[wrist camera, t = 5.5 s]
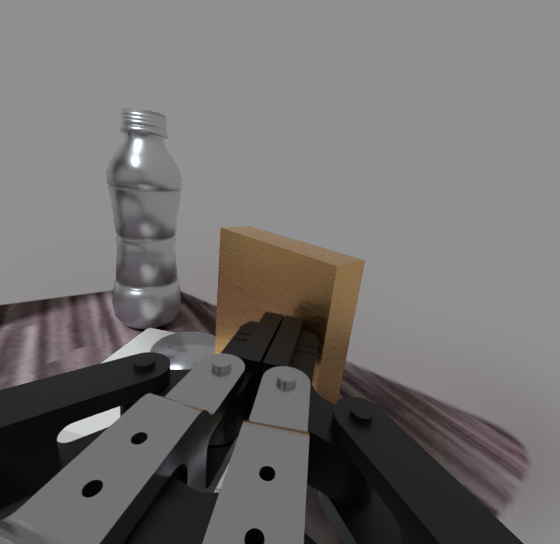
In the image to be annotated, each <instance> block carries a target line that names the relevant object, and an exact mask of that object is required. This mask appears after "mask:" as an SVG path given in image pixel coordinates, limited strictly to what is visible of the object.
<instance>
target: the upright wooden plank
mask: <svg viewBox="0 0 560 544" xmlns="http://www.w3.org/2000/svg"><path fill="white" fill-rule="evenodd" d="M364 263H365V260H362V259H358V258H355V257H352V256H348V255H344V254H341V253H338V252H335V251H331V250H328V249H324V248H321V247H318V246H314V245H311V244H307V243H304V242H301V241H297V240H293V239H290V238H287V237H284V236H280V235H277V234H273V233H270V232H266V231H263V230H260V229H256V228H253V227H226V228H221V234H220V256H219V274H218V295H217V315H216V336H214V335H211V334H208V333H203V332H195V331H189V332H179V333H175V334H171V335H168V336H166V337H163V338H161V339H160V340H158V341H157V342H156V343H155V344H154V345H153V346H152V348H151V350H150V352H155V353H160V354H163V355H165V356H167V357H168V358H169V360H170V369H193V368H194V367H195V366H196V365H197V364H198V363H199V362H200V361H201V360H202V359H203V358H205V357H207V356H209V355H213V354H220V353H221V352H222V351H223V349H224V348H225V347H226V345H227V344H228V343H229V341H230V340H231V339H232V338H233V336H234V335H235V333H237V331H238V330H239V328H240V327H241V326H242V325H244V324H246V323H248V322H250V321H254V322H259V321H260V320H261V318H262V317H263V315H264V313H265V312H271V313H277V314H282V315H284V317H285V315H288V316H294V317H299V318H304V323H303V331H307V332H313V333H315V334H316V336H317V338H318V339H319V344H318V350H317V357H316V363H315V370H314V376H313V382H312V385H313V388H314V389H315V391H316V392H317V393H318V394H319V395H320V396H321V397H323V398H324V399H326V400H328V401H330V402H332V403H334V404H336V402H337V401H338V397H339V392H340V387H341V382H342V377H343V371H344V366H345V361H346V356H347V350H348V346H349V340H350V335H351V330H352V325H353V320H354V315H355V309H356V304H357V299H358V293H359V289H360V284H361V279H362V273H363V268H364Z"/></svg>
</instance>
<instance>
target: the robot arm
mask: <svg viewBox="0 0 560 544" xmlns="http://www.w3.org/2000/svg"><path fill="white" fill-rule="evenodd" d="M303 323H304V318H299V317H294V316H288V315H285V317H284V315H282V314H277V313H271V312H265V313H264V315H263V317H262V318H261V320H260V321H259V322H254V321H250V322H248V323H246V324H244V325H242V326H241V327H240V328H239V330H238V331H237V333H235V335H234V336H233V338H232V339H231V340H230V341H229V343H228V344H227V345H226V347H225V348H224V349H223V351H222V352H221V353H220V354H213V355H209V356H207V357H205V358H203V359H202V360H201V361H200V362H199V363H198V364H197V365H196V366H195V367H194V368H193V369H170V360H169V358H168V357H167V356H165V355H163V354H160V353H155V352H145V353H139V354H135V355H131V356H127V357H123V358H120V359H116V360H112V361H108V362H105V363H101V364H97V365H93V366H90V367H86V368H82V369H78V370H75V371H71V372H67V373H63V374H60V375H56V376H52V377H48V378H44V379H41V380H37V381H33V382H29V383H26V384H22V385H18V386H14V387H11V388H7V389H3V390H0V544H316V543H315V542H314V541H313V540H312V539H311V538H310V537H309V536H307V535H306V534H305V533H304V527H305V509H306V491H307V483H308V484H309V485H311V486H312V487H314V488H315V489H317V490H318V491H319V493H318V494H319V500H320V503H321V505H322V507H323V509H324V510H325V512H326V514H327V515H328V517H329V519H330V521H331V522H332V524H333V526H334V527H335V529H336V531H337V533H338V534H339V536H340V538H341V539H342V541H343V543H344V544H523V543H522V542H521V541H520V540H519V539H518V538H517V537H516V536H515V535H514V534H513V533H511V531H509V530H508V529H507V528H506V527H505V526H504V525H503V524H502V523H501V522H500V521H499V520H498V519H497V518H496V517H495V516H494V515H493V514H492V513H491V512H490V511H488V510H487V509H486V508H485V507H484V506H483V505H482V504H481V503H480V502H479V501H478V500H477V499H476V498H475V497H474V496H473V495H472V494H471V493H469V492H468V491H467V490H466V489H465V488H464V487H463V486H462V485H461V484H460V483H459V482H458V481H457V480H456V479H455V478H454V477H453V476H452V475H450V474H449V473H448V472H447V471H446V470H445V469H444V468H443V467H442V466H441V465H440V464H439V463H438V462H437V461H436V460H435V459H434V458H433V457H431V456H430V455H429V454H428V453H427V452H426V451H425V450H424V449H423V448H422V447H421V446H420V445H419V444H418V443H417V442H416V441H415V440H414V439H412V438H411V437H410V436H409V435H408V434H407V433H406V432H405V431H404V430H403V429H402V428H401V427H400V426H399V425H398V424H397V423H396V422H395V421H393V420H392V419H391V418H390V417H389V416H388V415H387V414H386V413H385V412H384V411H383V410H382V409H381V408H380V407H378V406H377V405H375V404H374V403H372V402H370V401H368V400H365V399H362V398H357V397H346V398H343V399H340V400H339V401H337V402H336V404H334V403H332V402H330V401H328V400H326V399H324V398H323V397H321V396H320V395H319V394H318V393H317V392H316V391H315V389H314V388H313V385H312V382H313V376H314V370H315V363H316V357H317V350H318V344H319V339H318V338H317V336H316V334H315V333H313V332H307V331H303ZM119 406H120V418H119V419H117V420H116V421H115V422H114V423H113V424H112V425H111V426H110V427H107V428H104V429H102V430H99V431H97V432H94V433H92V434H89V435H86V436H84V437H81V438H79V439H76V440H73V441H71V442H67V443H61V442H58V441H57V437H58V435H59V434H60V432H61V431H62V430H63V429H64V428H65V427H67V426H68V425H70V424H72V423H74V422H77V421H80V420H83V419H85V418H88V417H91V416H94V415H97V414H99V413H102V412H105V411H108V410H111V409H113V408H116V407H119ZM229 462H230V463H229ZM228 464H229V466H228ZM227 466H228V469H227V472H226V475H225V478H224V481H223V483H222V486H221V489H220V492H219V493H214V491H215V489H216V487H217V485H218V483H219V481H220V479H221V477H222V475H223V473H224V472H225V470H226V468H227Z"/></svg>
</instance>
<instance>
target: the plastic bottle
mask: <svg viewBox="0 0 560 544" xmlns="http://www.w3.org/2000/svg"><path fill="white" fill-rule="evenodd" d="M120 131H121V132H122V133H124V135H125V136H124V141H123V143H122V144H121V145H120V146H119V148H118V149H117V150H116V152H115V153H114V155H113V157H112V158H111V160H110V161H109V163H108V167H107V171H106V177H107V184H108V185H109V187H108V189H109V194H110V199H111V204H112V208H113V213H114V222H115V231H116V233H117V237H116V240H117V262H116V280H115V283H114V288H113V298H112V303H113V307H114V311H115V315H116V316H117V318H118V319H119V320H120V321H121V322H122V323H123V324H124V325H126V326H128V327H132V328H138V329H148V328H157V327H161V326H164V325H166V324H168V323H170V322H171V321H172V320H173V319H174V318H175V317H176V315H177V314H178V312H179V308H180V303H181V294H180V286H179V281H178V279H177V268H176V256H175V242H176V241H175V240H176V238H175V235H176V226H177V215H178V209H179V203H180V196H181V193H180V192H181V189H182V177H181V173H180V170H179V168H178V166H177V164H176V163H175V161H174V159H173V157H172V156H171V154H170V153H169V152H168V150H167V148H166V147H165V144H164V139H167V138H168V135H167V133H166V116H165V115H163V114H160V113H156V112H152V111H147V110H142V109H134V108H122V109H121V126H120Z"/></svg>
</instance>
